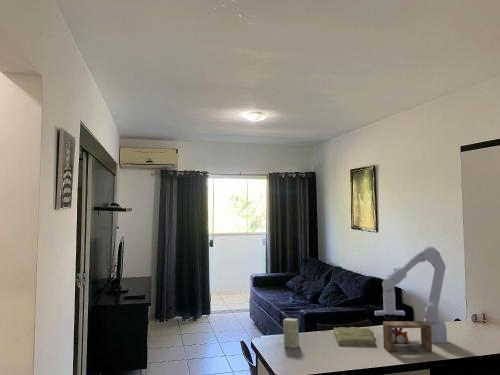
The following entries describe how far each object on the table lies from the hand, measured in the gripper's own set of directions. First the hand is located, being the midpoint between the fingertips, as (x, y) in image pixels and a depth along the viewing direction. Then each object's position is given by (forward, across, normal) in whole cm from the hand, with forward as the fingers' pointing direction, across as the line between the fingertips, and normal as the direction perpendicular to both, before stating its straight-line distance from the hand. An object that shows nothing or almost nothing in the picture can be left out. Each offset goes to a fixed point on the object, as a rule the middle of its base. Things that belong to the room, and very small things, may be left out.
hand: (390, 329), depth 190 cm
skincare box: (+3, +51, +16) cm, 53 cm away
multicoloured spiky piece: (+3, 0, +10) cm, 10 cm away
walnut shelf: (+2, 0, +21) cm, 21 cm away
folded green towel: (+3, +19, +6) cm, 20 cm away
